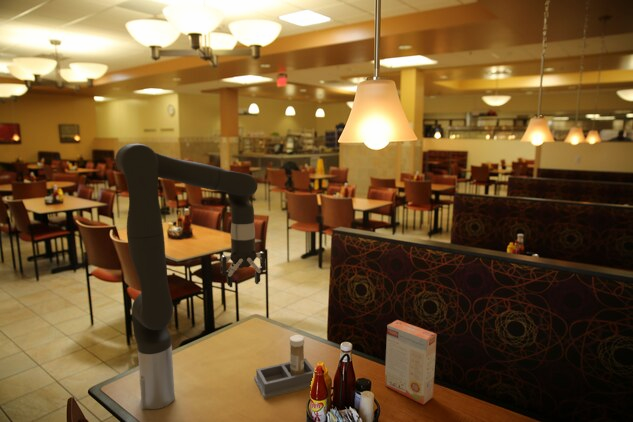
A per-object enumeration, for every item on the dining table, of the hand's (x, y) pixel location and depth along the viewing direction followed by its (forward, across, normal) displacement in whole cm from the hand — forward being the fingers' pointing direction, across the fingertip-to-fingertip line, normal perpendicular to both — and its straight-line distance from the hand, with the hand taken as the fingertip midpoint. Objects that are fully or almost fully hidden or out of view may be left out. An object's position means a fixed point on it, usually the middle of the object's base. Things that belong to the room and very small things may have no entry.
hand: (243, 284), depth 136 cm
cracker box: (+30, +43, -32) cm, 61 cm away
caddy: (+30, +10, -12) cm, 34 cm away
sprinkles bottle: (+29, +14, -12) cm, 34 cm away
